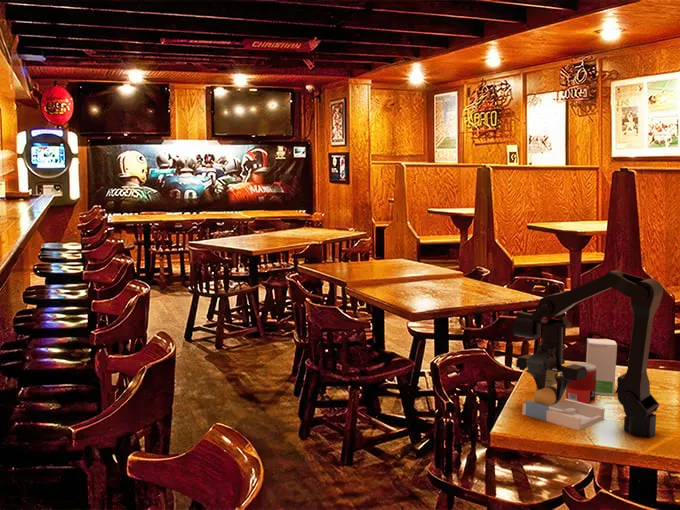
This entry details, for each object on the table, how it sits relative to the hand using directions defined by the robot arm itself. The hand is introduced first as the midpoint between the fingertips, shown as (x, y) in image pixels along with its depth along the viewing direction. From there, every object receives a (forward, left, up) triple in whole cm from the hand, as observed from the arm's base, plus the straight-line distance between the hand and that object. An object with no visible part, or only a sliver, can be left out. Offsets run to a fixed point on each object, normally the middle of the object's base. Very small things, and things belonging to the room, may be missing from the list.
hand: (549, 398), depth 207 cm
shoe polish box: (+12, -17, -5) cm, 21 cm away
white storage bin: (-4, 0, -5) cm, 7 cm away
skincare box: (+3, -31, -5) cm, 32 cm away
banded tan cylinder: (0, 0, -2) cm, 2 cm away
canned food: (+1, -17, -5) cm, 18 cm away
